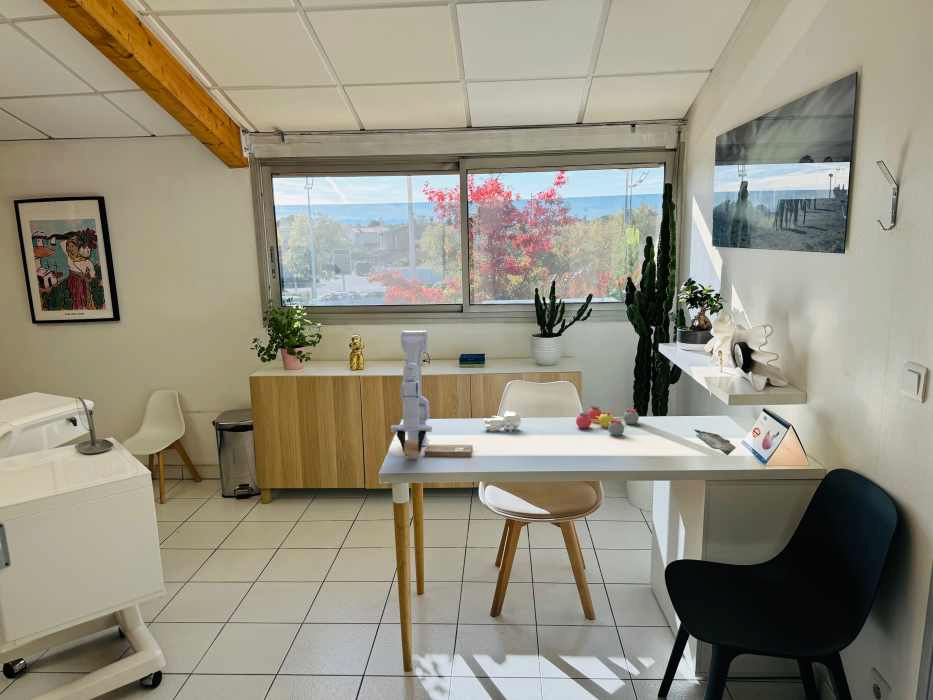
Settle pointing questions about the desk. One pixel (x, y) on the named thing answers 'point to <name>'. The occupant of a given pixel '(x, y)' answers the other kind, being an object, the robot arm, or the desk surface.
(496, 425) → the figurine
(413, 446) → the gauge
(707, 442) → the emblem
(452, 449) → the board
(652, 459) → the desk surface
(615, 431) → the molecule model
